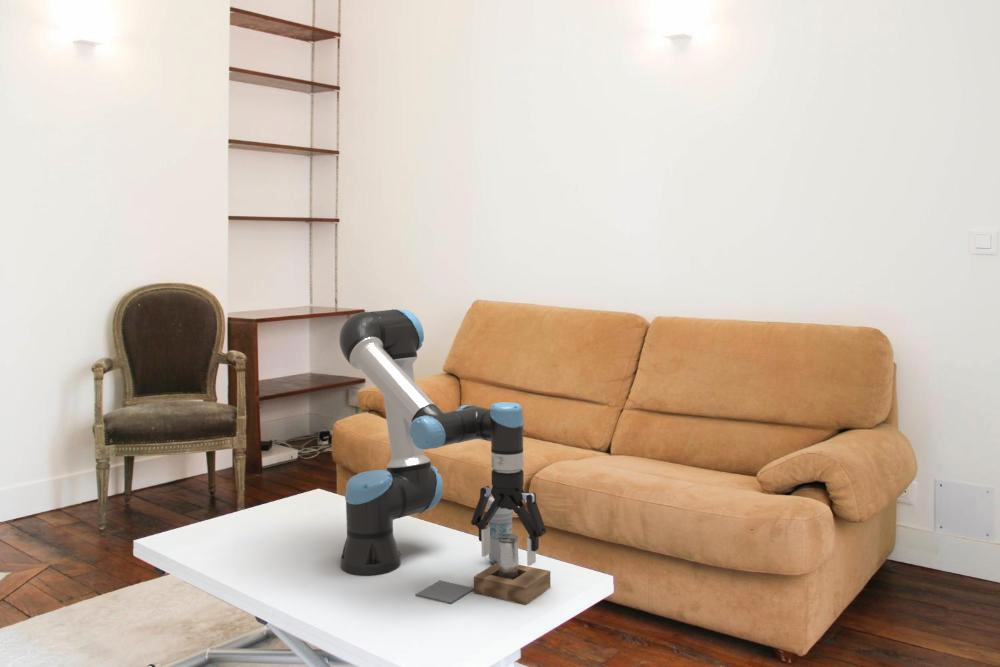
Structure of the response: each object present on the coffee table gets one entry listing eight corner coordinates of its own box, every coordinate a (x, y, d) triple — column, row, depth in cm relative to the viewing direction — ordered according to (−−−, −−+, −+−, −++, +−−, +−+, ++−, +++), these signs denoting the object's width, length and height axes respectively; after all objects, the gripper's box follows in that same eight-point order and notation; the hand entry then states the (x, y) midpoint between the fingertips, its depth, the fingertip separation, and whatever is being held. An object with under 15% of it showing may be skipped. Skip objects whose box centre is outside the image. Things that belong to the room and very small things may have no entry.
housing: (473, 593, 215) (473, 576, 215) (499, 576, 225) (499, 560, 225) (525, 604, 208) (525, 587, 207) (550, 587, 218) (550, 570, 218)
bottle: (511, 567, 232) (510, 490, 229) (485, 565, 233) (484, 488, 231) (516, 558, 238) (515, 483, 236) (491, 556, 239) (490, 481, 237)
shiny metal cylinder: (495, 590, 216) (494, 538, 215) (505, 584, 220) (504, 532, 219) (512, 594, 214) (511, 541, 213) (521, 588, 218) (521, 535, 216)
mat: (415, 595, 214) (415, 594, 214) (439, 581, 222) (439, 580, 222) (451, 604, 209) (451, 602, 209) (474, 589, 217) (474, 587, 217)
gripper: (455, 466, 217) (457, 555, 219) (545, 479, 205) (546, 573, 207) (472, 460, 223) (473, 546, 226) (560, 471, 211) (561, 563, 213)
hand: (508, 559), depth 216 cm, fingers open, 12 cm apart
